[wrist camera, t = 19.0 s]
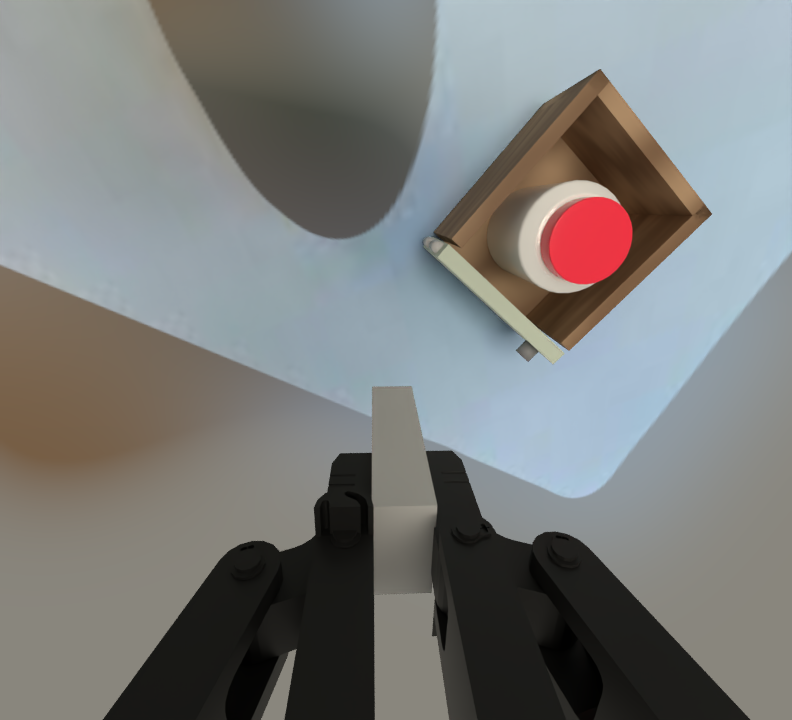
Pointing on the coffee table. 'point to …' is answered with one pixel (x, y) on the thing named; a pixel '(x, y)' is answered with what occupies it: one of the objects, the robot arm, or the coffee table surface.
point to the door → (494, 301)
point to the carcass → (593, 161)
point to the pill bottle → (560, 235)
